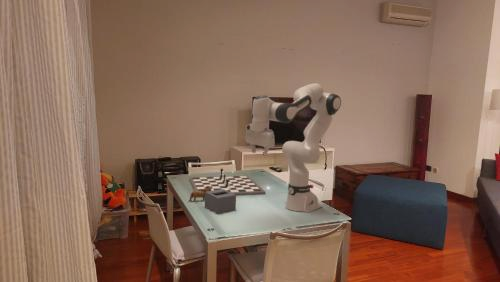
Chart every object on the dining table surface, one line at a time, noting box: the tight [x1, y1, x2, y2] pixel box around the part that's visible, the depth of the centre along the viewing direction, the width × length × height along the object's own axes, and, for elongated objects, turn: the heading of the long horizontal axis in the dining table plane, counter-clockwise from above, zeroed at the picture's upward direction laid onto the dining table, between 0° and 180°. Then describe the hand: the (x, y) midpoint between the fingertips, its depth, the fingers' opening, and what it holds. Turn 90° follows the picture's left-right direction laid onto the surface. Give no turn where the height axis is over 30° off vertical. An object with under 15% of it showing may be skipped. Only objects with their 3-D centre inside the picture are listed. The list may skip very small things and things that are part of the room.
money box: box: [204, 189, 237, 215], centre depth 207 cm, size 12×14×9 cm
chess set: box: [188, 168, 266, 199], centre depth 254 cm, size 45×45×11 cm
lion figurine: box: [188, 186, 211, 203], centre depth 219 cm, size 15×5×9 cm, turn 120°
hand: (259, 154), depth 188 cm, fingers open, 8 cm apart
